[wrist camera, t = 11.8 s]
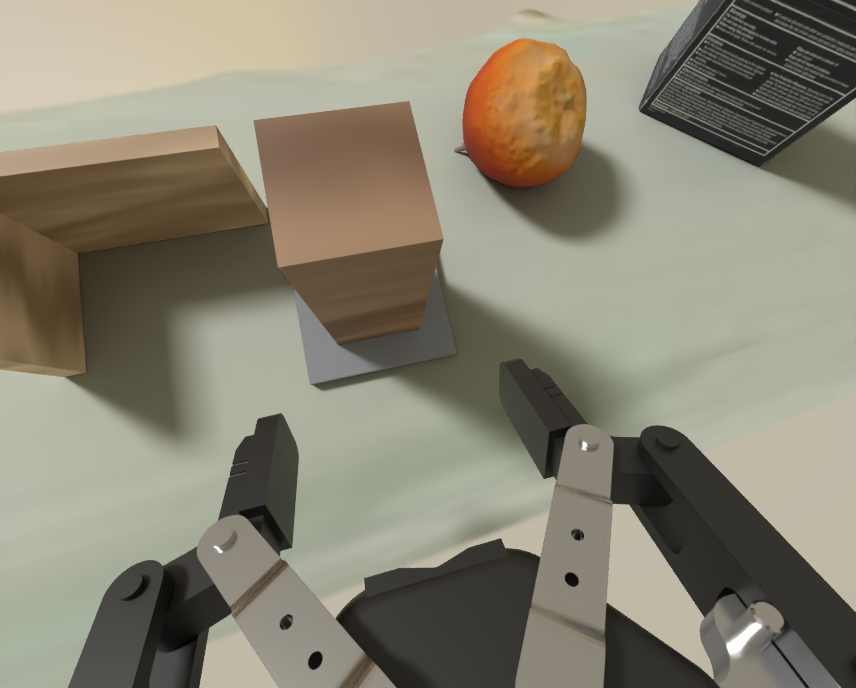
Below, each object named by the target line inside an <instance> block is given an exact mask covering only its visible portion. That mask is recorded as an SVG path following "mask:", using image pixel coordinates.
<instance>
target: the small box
mask: <svg viewBox="0 0 856 688" xmlns="http://www.w3.org/2000/svg"><path fill="white" fill-rule="evenodd" d="M855 98H856V0H700V1H699V2H698V4H697V5H696V7H695V8H694V9H693V11H692V12H691V14H690V15H689V16H688V18H687V19H686V20H685V22H684V23H683V25H682V26H681V27H680V29H679V30H678V32H677V33H676V34H675V36H674V37H673V39H672V40H671V41H670V43H669V44H668V46H667V47H666V48H665V49H664V51H663V52H662V53H661V55H660V57H659V59H658V61H657V64H656V66H655V68H654V71H653V73H652V76H651V78H650V81H649V83H648V86H647V88H646V91H645V93H644V95H643V98H642V100H641V103H640V105H639V110H640V111H641V112H643V113H645V114H647V115H650V116H652V117H654V118H656V119H658V120H661V121H662V122H665V123H667V124H669V125H671V126H674V127H676V128H678V129H680V130H682V131H684V132H687V133H689V134H691V135H693V136H695V137H697V138H700V139H702V140H704V141H706V142H708V143H710V144H713V145H715V146H717V147H719V148H721V149H724V150H726V151H728V152H730V153H732V154H734V155H736V156H739V157H741V158H743V159H745V160H747V161H749V162H752V163H754V164H756V165H758V166H761V165H764V164H766V163H768V162H769V161H770V160H771V159H772V158H774V156H775V155H777V154H778V153H779V152H781V151H782V150H783V149H785V148H786V147H788V146H789V145H790V144H792V143H793V142H795V141H796V140H797V139H799V138H800V137H802V136H803V135H804V134H806V133H807V132H809V131H810V130H812V129H813V128H814V127H816V126H817V125H819V124H820V123H821V122H823V121H824V120H826V119H827V118H828V117H830V116H831V115H832V114H834V113H835V112H837V111H838V110H839V109H841V108H842V107H844V106H845V105H846V104H848V103H849V102H851V101H852V100H853V99H855Z"/></svg>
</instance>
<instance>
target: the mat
mask: <svg viewBox="0 0 856 688" xmlns="http://www.w3.org/2000/svg"><path fill="white" fill-rule="evenodd" d="M294 294H295V300H296V305H297V311H298V317H299V323H300V328H301V334H302V340H303V346H304V351H305V357H306V363H307V369H308V375H309V380H310V384H311V385H315V384H320V383H325V382H329V381H334V380H339V379H343V378H348V377H353V376H357V375H362V374H366V373H371V372H376V371H380V370H385V369H390V368H394V367H399V366H404V365H408V364H413V363H418V362H422V361H427V360H432V359H436V358H441V357H446V356H450V355H455V354H456V353H457V350H456V346H455V342H454V338H453V334H452V330H451V325H450V321H449V317H448V313H447V309H446V305H445V301H444V297H443V293H442V289H441V285H440V281H439V277H438V272H437V268H436V269H435V272H434V276H433V280H432V283H431V287H430V291H429V295H428V298H427V302H426V306H425V309H424V313H423V317H422V320H421V324H420V328H419V329H418V330H413V331H408V332H403V333H398V334H393V335H388V336H383V337H378V338H373V339H368V340H363V341H358V342H353V343H348V344H343V345H338V344H337V343H336V342H335V340H334V339H333V338H332V336H331V335H330V334H329V333H328V331H327V330H326V329H325V327H324V326H323V325H322V324H321V322H320V321H319V320H318V318H317V317H316V316H315V315H314V313H313V312H312V311H311V309H310V308H309V307H308V306H307V304H306V303H305V302H304V300H303V299H302V298H301V297H300V295H299V294H298V293H297V291H296V290H295V289H294Z"/></svg>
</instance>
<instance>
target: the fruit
mask: <svg viewBox="0 0 856 688" xmlns="http://www.w3.org/2000/svg"><path fill="white" fill-rule="evenodd" d="M585 121H586V88H585V84H584V80H583V77H582V75H581V73H580V71H579V69H578V67H577V66H575V65H574V64H573V63H572V62H571V60H570V59H569V57H568V54H567V52H566V51H565V49H563V48H560V47H559V46H557V45H555V44H552V43H550V44H549V43H545V42H540V41H536V40H532V39H519V40H516V41H514V42H512V43H510V44H508V45H506V46H504V47H502V48H500V49H499V50H498V51H496V52H495V53H494V54H493V55H492V56H491V57H490V58H489V59H488V61H487V62H486V63H485V65H484V66H483V67H482V68H481V70H480V71H479V73H478V74H477V75H476V77H475V78H474V79H473V81H472V82H471V84H470V86H469V88H468V91H467V94H466V99H465V105H464V112H463V139H464V144H463V145H462V146H460V147H458V148H456V149H455V151H454V152H459V151H464V150H466V151H467V154H468V156H469V158H470V159H471V161H472V162H473V163H474V164H475V165H476V167H477V168H478V169H479V170H480V171H481V172H482V173H483V174H485V175H486V176H487V177H489V178H491V179H493V180H495V181H498V182H500V183H502V184H504V185H506V186H508V187H511V188H527V187H534V186H537V185H541V184H545V183H548V182H550V181H552V180H553V179H555V178H556V177H557V176H558V175H560V174H561V173H563V172H565V171H567V170H568V169H570V167H571V166H572V163H573V162H574V160H575V159H576V157H577V155H578V153H579V149H580V145H581V140H582V136H583V131H584V127H585Z"/></svg>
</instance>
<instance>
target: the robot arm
mask: <svg viewBox="0 0 856 688" xmlns="http://www.w3.org/2000/svg"><path fill="white" fill-rule="evenodd" d="M500 398H501V402H502V405H503V408H504V410H505V412H506V413H507V415H508V417H509V419H510V420H511V422H512V424H513V426H514V427H515V429H516V431H517V433H518V434H519V436H520V438H521V440H522V441H523V443H524V445H525V447H526V449H527V450H528V452H529V454H530V456H531V457H532V459H533V461H534V463H535V464H536V466H537V468H538V470H539V471H540V473H541V475H542V477H543V478H544V479H546V478H550V477H553V476H554V477H555V479H556V480H557V481H556V484H555V488H554V493H553V498H552V503H551V508H550V513H549V518H548V523H547V528H546V533H545V538H544V543H543V548H542V553H541V557H539V556H537V555H535V554H532V553H530V552H527V551H523V550H519V549H509V548H505V547H504V545H503V542H502V539H497V540H494V541H490V542H487V543H483V544H480V545H476V546H473V547H470V548H468V549H466V550H464V551H463V552H461V553H460V554H458V555H457V556H455V557H453V558H452V559H450V560H448V561H447V562H445V563H444V564H442V565H440V566H438V567H436V568H398V569H395V570H391V571H388V572H384V573H381V574H378V575H374V576H371V577H367V578H364V580H365V590H364V591H363V592H361V593H360V594H358V595H357V596H356V597H354V598H353V599H352V600H351V601H350V602H349V603H348V604H347V605H346V606H345V607H344V608H343V609H342V611H341V612H340V613H339V614H338V615H337V617H336V618H334V617H333V616H332V614H331V613H330V612H329V611H328V610H327V609H326V607H325V606H324V605H323V604H322V603H321V602H320V601H319V599H318V598H317V597H316V596H315V595H314V594H313V592H312V591H311V590H310V589H309V588H308V587H307V585H306V584H305V583H304V582H303V581H302V580H301V579H300V577H299V576H298V575H297V574H296V573H295V572H294V570H293V569H292V568H291V567H290V566H289V565H288V564H287V563H286V562H285V561H283V560H282V559H281V558H280V551H282V550H285V549H289V548H292V542H293V529H294V515H295V502H296V488H297V475H298V461H299V456H298V449H297V445H296V442H295V440H294V437H293V435H292V433H291V431H290V429H289V427H288V424H287V422H286V420H285V418H284V416H283V415H282V414H281V413H280V414H276V415H271V416H267V417H263V418H259V419H258V420H257V424H256V429H255V433H254V435H252V436H247V437H245V438H244V439H243V441H242V442H241V444H240V445H239V446H238V448H237V449H236V452H235V456H234V459H233V463H232V464H233V466H232V467H231V471H230V477H229V479H228V483H227V487H226V491H225V495H224V499H223V503H222V507H221V511H220V515H219V519H218V521H217V522H216V523H214V524H213V525H212V526H211V527H210V528H209V529H208V530H207V531H206V532H205V533H204V535H203V536H202V538H201V539H200V541H199V544H198V546H197V547H196V548H194V549H192V550H191V551H189V552H187V553H186V554H184V555H182V556H180V557H178V558H177V559H175V560H173V561H171V562H169V563H168V564H166V565H164V566H162V565H161V564H160V563H159V562H157V561H154V560H147V561H143V562H140V563H137V564H135V565H133V566H131V567H130V568H128V569H127V570H126V571H124V572H123V573H122V574H121V575H119V576H118V577H117V578H116V579H115V581H114V582H113V583H112V584H111V585H110V587H109V588H108V589H107V591H106V593H105V595H104V597H103V599H102V602H101V604H100V607H99V609H98V612H97V614H96V617H95V620H94V622H93V625H92V627H91V630H90V632H89V635H88V638H87V640H86V643H85V645H84V648H83V650H82V653H81V656H80V658H79V661H78V663H77V666H76V668H75V671H74V674H73V676H72V679H71V681H70V684H69V686H68V688H199V685H200V679H201V673H202V667H203V661H204V655H205V649H206V643H207V637H208V631H209V627H211V626H213V625H214V624H216V623H217V622H219V621H220V620H222V619H223V618H225V617H227V616H228V615H230V614H232V616H233V618H234V619H235V621H236V623H237V624H238V626H239V627H240V629H241V630H242V632H243V633H244V635H245V636H246V638H247V640H248V641H249V643H250V644H251V646H252V647H253V649H254V650H255V652H256V653H257V655H258V656H259V658H260V660H261V661H262V663H263V664H264V666H265V667H266V669H267V670H268V672H269V673H270V675H271V677H272V678H273V679H274V681H275V683H276V684H277V686H278V687H279V688H856V612H855V611H854V610H853V609H852V608H851V607H850V606H849V605H848V604H847V603H846V602H845V601H844V600H843V599H842V598H841V597H840V596H839V595H838V594H837V593H836V592H835V591H834V589H833V588H831V586H830V585H829V584H828V583H827V582H826V581H825V580H824V579H823V578H822V577H821V576H820V575H819V574H818V573H817V572H816V571H815V570H814V569H813V568H812V567H811V566H810V565H809V563H808V562H807V561H805V559H804V558H803V557H802V556H801V555H800V554H799V553H798V552H797V551H796V550H795V549H794V548H793V547H792V546H791V545H790V544H789V543H788V542H787V541H786V540H785V539H784V538H783V536H782V535H781V534H780V533H779V532H778V531H776V530H775V528H774V527H773V526H772V525H771V524H770V523H769V522H768V521H767V520H766V519H765V518H764V517H763V516H762V515H761V514H760V513H759V512H758V511H757V509H756V508H755V507H754V506H753V505H752V504H751V503H750V502H749V501H748V500H747V499H746V498H745V497H744V496H743V495H742V494H741V493H740V492H739V491H738V490H737V489H736V488H735V487H734V486H733V485H732V484H731V483H730V482H729V480H728V479H727V478H726V477H725V476H724V475H723V474H722V473H721V472H720V471H719V470H718V469H717V468H716V467H715V466H714V465H713V464H712V463H711V462H710V461H709V460H708V459H707V458H706V457H705V456H704V454H703V453H702V452H701V451H700V450H699V449H698V448H697V447H696V446H695V445H694V444H693V443H692V442H691V441H690V440H689V439H688V438H687V437H686V436H685V435H683V434H682V433H681V432H679V431H677V430H675V429H673V428H670V427H666V426H650V427H647V428H645V429H644V430H643V431H642V433H641V436H640V437H613V436H609V435H608V434H607V433H606V432H605V431H604V430H602V429H600V428H598V427H596V426H593V425H588V424H587V423H586V421H585V420H584V419H583V418H582V416H581V415H580V414H579V413H578V411H577V410H576V409H575V408H574V406H573V405H572V404H571V403H570V401H569V400H568V399H567V398H566V396H565V395H563V393H562V391H561V390H560V389H559V388H558V387H557V385H556V384H555V382H554V381H553V380H552V379H551V377H550V376H549V375H547V374H546V373H544V372H542V371H541V370H539V369H532V370H530V369H529V368H528V367H527V365H526V364H525V363H524V361H523V360H522V359H515V360H511V361H506V362H502V363H501V364H500ZM612 504H629V505H630V506H631V508H632V509H633V511H634V512H635V514H636V515H637V517H638V518H639V520H640V521H641V523H642V524H643V526H644V527H645V529H646V530H647V532H648V533H649V535H650V536H651V538H652V539H653V541H654V542H655V544H656V545H657V547H658V548H659V550H660V551H661V553H662V554H663V556H664V557H665V559H666V560H667V562H668V563H669V565H670V566H671V568H672V569H673V571H674V572H675V574H676V575H677V577H678V578H679V580H680V581H681V583H682V584H683V586H684V587H685V589H686V590H687V592H688V593H689V595H690V596H691V598H692V599H693V601H694V602H695V604H696V605H697V607H698V608H699V610H700V611H701V613H702V614H703V616H704V617H705V619H704V620H703V621H702V623H701V627H700V636H701V641H702V644H703V646H704V648H705V651H706V652H707V655H708V656H709V659H710V661H711V664H712V668H713V672H714V680H713V679H712V678H711V677H710V676H709V675H708V674H707V673H705V672H704V671H703V670H702V669H701V668H700V667H698V666H697V665H695V664H694V663H692V662H691V661H690V660H688V659H687V658H685V657H684V656H683V655H681V654H680V653H678V652H677V651H675V650H674V649H673V648H671V647H670V646H668V645H667V644H665V643H664V642H663V641H661V640H660V639H658V638H657V637H655V636H654V635H652V634H651V633H649V632H648V631H647V630H645V629H644V628H642V627H641V626H640V625H638V624H637V623H635V622H634V621H632V620H631V619H630V618H628V617H627V616H625V615H624V614H622V613H621V612H619V611H618V610H617V609H615V608H614V607H612V606H611V605H609V604H608V603H607V602H606V600H607V585H608V570H609V554H610V553H609V552H610V538H611V523H612Z"/></svg>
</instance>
